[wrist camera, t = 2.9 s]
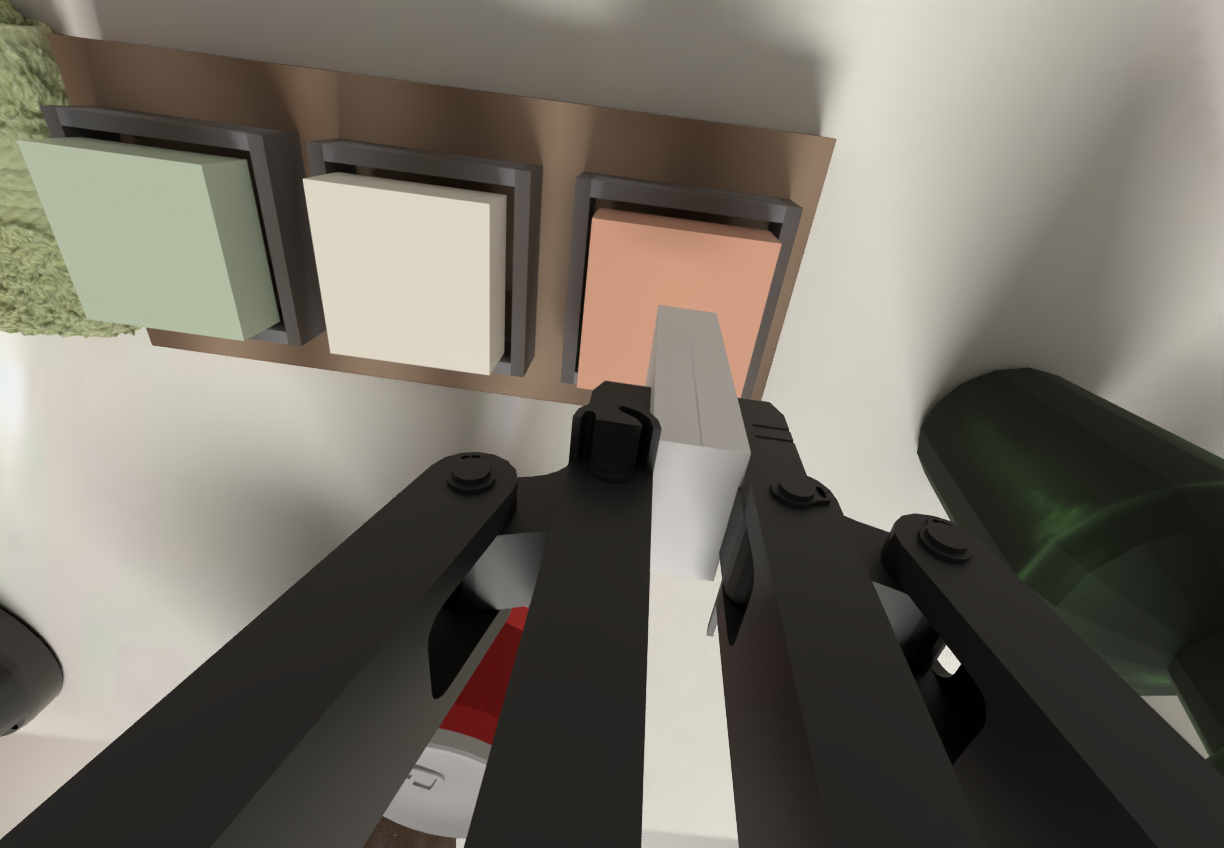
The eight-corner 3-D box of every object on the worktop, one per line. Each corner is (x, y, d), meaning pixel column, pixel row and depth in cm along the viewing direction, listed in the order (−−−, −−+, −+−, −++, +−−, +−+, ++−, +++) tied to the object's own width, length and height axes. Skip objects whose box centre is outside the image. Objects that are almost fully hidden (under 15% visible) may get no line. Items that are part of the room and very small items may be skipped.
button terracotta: (584, 363, 20) (576, 387, 18) (599, 207, 17) (592, 218, 16) (730, 384, 20) (737, 410, 18) (769, 230, 17) (781, 243, 16)
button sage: (135, 301, 20) (87, 318, 19) (80, 136, 18) (16, 139, 16) (279, 321, 20) (244, 341, 19) (246, 159, 18) (201, 164, 16)
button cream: (358, 332, 20) (330, 353, 19) (338, 172, 17) (302, 178, 16) (504, 352, 20) (489, 375, 18) (506, 195, 17) (489, 204, 16)
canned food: (441, 531, 30) (339, 725, 21) (581, 562, 30) (545, 767, 21) (434, 621, 34) (346, 819, 24) (559, 648, 34) (519, 854, 25)
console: (187, 329, 25) (111, 363, 22) (101, 40, 19) (-20, 24, 16) (746, 407, 25) (760, 455, 21) (820, 136, 19) (855, 141, 16)
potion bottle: (903, 518, 27) (1227, 1064, 12) (886, 377, 23) (1326, 897, 8) (1090, 481, 25) (1775, 1075, 10) (1103, 322, 22) (2232, 862, 6)
